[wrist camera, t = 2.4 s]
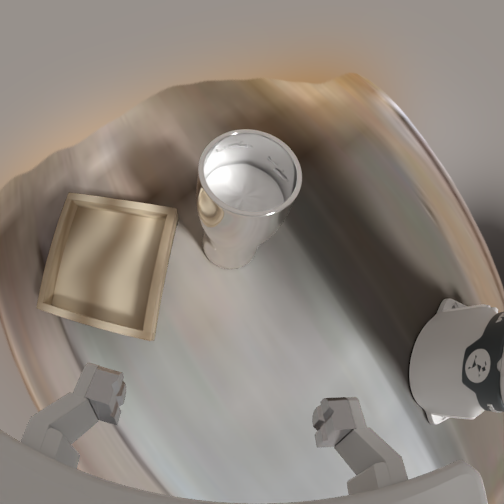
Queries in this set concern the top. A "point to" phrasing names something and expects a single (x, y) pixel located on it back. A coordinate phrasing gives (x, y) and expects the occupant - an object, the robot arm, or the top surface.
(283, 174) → the beer glass
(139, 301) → the oak tray
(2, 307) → the top surface
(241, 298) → the top surface
